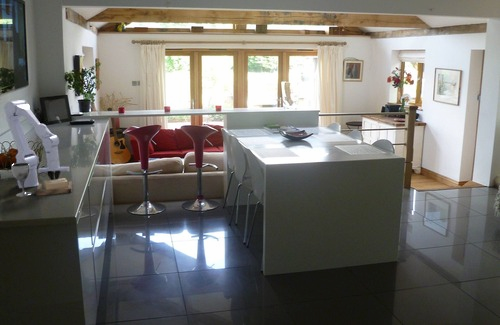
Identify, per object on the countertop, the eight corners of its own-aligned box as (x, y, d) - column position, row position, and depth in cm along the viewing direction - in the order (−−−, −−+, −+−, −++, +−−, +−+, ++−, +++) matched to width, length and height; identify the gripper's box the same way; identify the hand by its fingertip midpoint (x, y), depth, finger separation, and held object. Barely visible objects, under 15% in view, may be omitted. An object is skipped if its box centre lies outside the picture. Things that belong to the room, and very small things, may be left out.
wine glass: (13, 197, 235) (9, 167, 231) (16, 192, 242) (12, 163, 238) (31, 196, 237) (28, 165, 233) (33, 191, 244) (30, 162, 241)
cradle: (36, 195, 237) (36, 191, 237) (39, 187, 251) (38, 183, 250) (71, 192, 242) (71, 188, 241) (72, 184, 255) (72, 181, 255)
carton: (47, 193, 240) (46, 183, 239) (45, 190, 246) (43, 180, 245) (68, 190, 245) (67, 181, 244) (65, 187, 251) (64, 177, 250)
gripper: (69, 156, 252) (71, 182, 255) (38, 158, 249) (41, 184, 252) (67, 159, 246) (69, 186, 249) (36, 161, 242) (39, 187, 246)
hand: (55, 185), depth 250 cm, fingers closed
